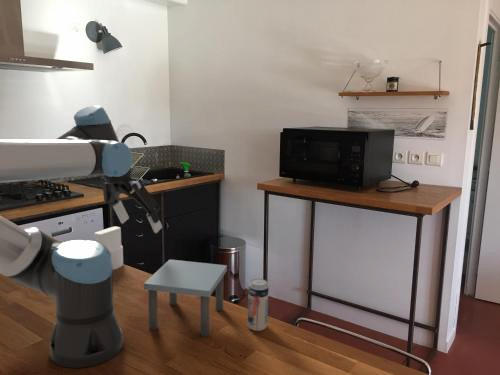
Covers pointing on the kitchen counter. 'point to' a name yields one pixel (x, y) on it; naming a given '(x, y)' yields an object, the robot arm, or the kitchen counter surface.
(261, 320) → the beer can
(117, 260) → the base with upright slab
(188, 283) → the pale blue square-topped fixture
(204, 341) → the kitchen counter surface
